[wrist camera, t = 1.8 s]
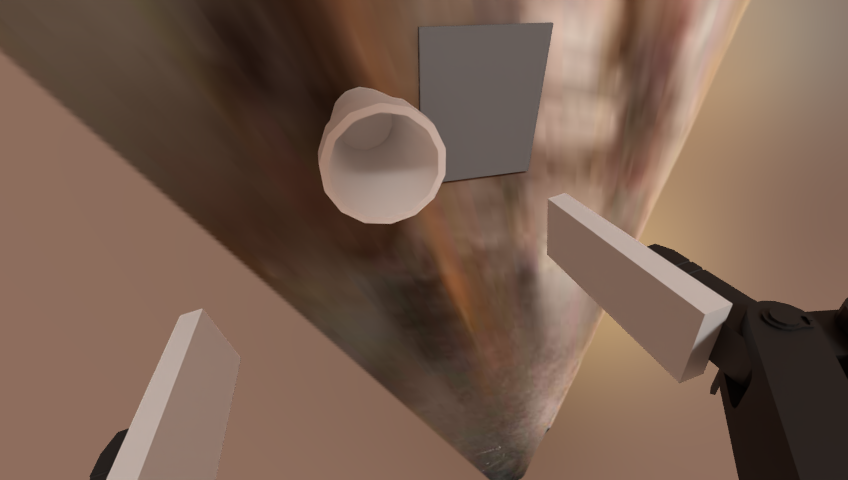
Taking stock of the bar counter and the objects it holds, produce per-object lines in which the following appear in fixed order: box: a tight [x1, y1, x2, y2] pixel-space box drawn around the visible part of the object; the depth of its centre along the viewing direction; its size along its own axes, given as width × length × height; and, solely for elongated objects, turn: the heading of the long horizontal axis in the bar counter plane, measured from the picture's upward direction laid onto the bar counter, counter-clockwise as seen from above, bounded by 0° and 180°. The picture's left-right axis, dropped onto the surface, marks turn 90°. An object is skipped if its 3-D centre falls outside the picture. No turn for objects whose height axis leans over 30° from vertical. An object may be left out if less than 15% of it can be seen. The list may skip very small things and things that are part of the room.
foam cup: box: [318, 87, 446, 224], centre depth 31 cm, size 10×9×13 cm
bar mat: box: [418, 23, 553, 182], centre depth 39 cm, size 16×14×1 cm
